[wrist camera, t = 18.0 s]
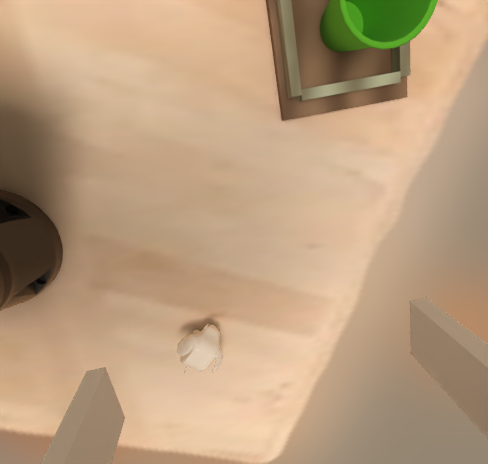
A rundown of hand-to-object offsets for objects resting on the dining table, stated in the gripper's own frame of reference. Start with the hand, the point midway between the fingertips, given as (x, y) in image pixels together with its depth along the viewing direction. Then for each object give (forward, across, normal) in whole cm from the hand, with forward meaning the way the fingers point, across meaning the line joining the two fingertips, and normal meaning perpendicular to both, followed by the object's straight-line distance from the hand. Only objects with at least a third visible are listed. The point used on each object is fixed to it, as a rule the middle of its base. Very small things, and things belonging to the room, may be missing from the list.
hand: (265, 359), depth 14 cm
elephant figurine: (+32, -8, -20) cm, 39 cm away
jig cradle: (+32, +17, +18) cm, 40 cm away
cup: (+31, +17, +18) cm, 39 cm away
